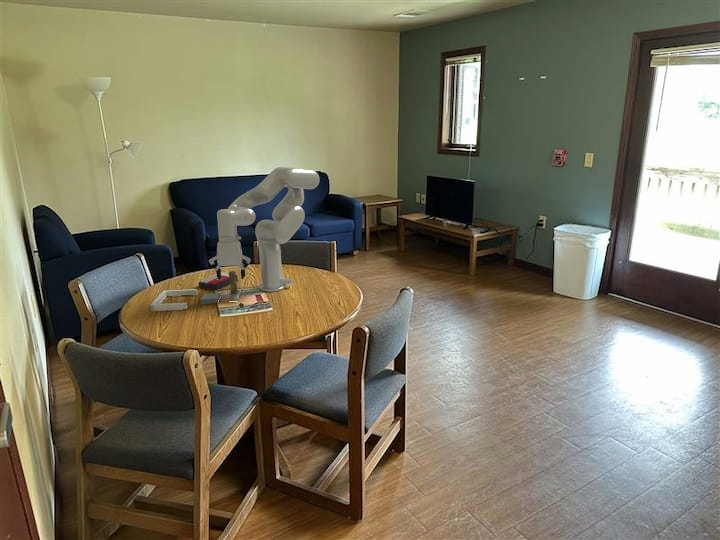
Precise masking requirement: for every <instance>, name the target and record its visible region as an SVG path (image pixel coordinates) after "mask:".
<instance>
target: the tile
mask: <svg viewBox="0 0 720 540" xmlns="http://www.w3.org/2000/svg"><path fill="white" fill-rule="evenodd" d="M220 296H221V297H222V295H221V292H215V293H203V295H202V297H201V299H200V302H201V303H200V304H201V305H203V304H204V305H207V304H208V305H209V304H211V303H213V304H217V303H216V302H218V300H219V298H220Z"/></svg>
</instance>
